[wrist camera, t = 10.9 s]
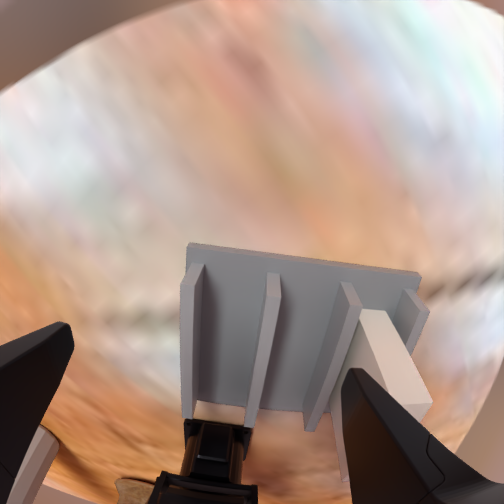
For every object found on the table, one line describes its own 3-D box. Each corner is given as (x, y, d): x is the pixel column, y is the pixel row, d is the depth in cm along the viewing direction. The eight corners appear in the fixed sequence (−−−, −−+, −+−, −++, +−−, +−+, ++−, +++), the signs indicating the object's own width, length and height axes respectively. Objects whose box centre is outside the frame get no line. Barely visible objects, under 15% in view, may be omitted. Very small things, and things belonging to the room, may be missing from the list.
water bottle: (41, 417, 31) (-30, 552, 8) (71, 452, 34) (17, 578, 10) (6, 410, 32) (-61, 521, 9) (34, 442, 35) (-20, 550, 11)
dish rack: (361, 406, 26) (369, 437, 22) (186, 391, 26) (177, 423, 22) (417, 272, 20) (440, 298, 17) (189, 242, 20) (173, 266, 17)
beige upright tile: (353, 390, 24) (375, 479, 15) (326, 389, 24) (341, 481, 15) (385, 310, 21) (433, 402, 12) (354, 308, 21) (393, 405, 12)
